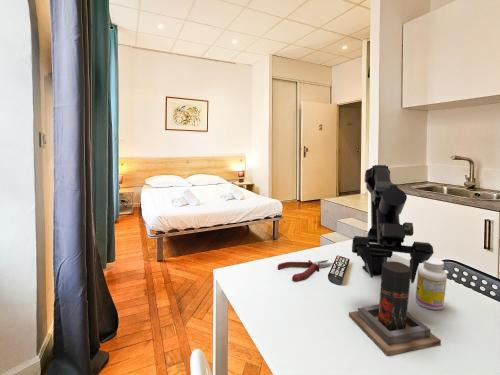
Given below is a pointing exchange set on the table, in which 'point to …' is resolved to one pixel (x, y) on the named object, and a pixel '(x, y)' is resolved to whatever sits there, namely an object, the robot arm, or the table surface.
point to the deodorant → (394, 295)
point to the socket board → (394, 332)
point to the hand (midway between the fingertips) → (391, 279)
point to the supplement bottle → (431, 284)
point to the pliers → (309, 265)
